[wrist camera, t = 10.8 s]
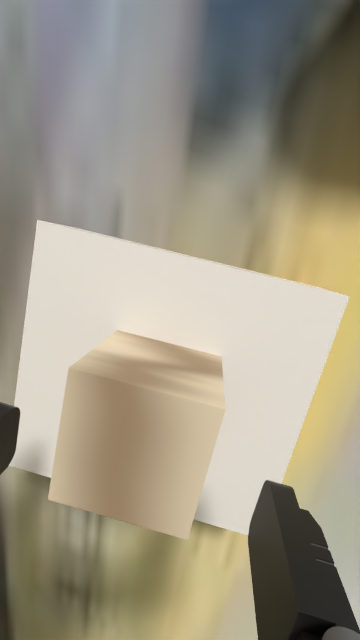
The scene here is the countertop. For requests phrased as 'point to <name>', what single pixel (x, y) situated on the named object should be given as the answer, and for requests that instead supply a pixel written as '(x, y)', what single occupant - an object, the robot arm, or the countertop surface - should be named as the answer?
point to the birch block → (139, 432)
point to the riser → (183, 330)
